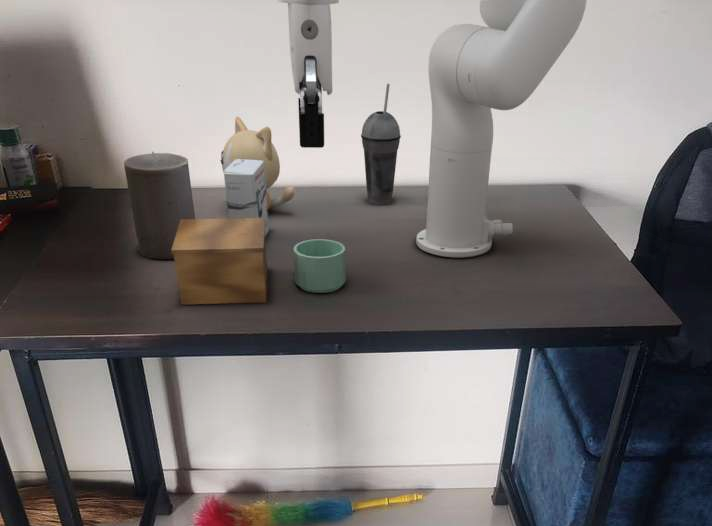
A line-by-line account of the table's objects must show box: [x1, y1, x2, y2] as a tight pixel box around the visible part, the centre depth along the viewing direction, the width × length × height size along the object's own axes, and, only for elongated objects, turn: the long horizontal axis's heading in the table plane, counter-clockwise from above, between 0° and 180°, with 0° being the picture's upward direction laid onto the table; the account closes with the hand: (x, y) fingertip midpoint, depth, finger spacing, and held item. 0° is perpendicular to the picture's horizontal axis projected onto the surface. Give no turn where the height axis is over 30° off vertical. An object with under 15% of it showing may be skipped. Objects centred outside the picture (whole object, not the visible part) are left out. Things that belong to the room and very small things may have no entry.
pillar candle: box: [123, 151, 196, 260], centre depth 121 cm, size 10×10×15 cm
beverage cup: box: [360, 83, 402, 206], centre depth 140 cm, size 7×7×20 cm
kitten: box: [219, 116, 296, 211], centre depth 137 cm, size 15×10×15 cm
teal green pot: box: [293, 238, 347, 294], centre depth 113 cm, size 8×8×6 cm
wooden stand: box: [171, 218, 268, 306], centre depth 111 cm, size 12×12×8 cm
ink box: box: [223, 159, 270, 237], centre depth 126 cm, size 9×5×12 cm, turn 174°
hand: (311, 138), depth 104 cm, fingers open, 9 cm apart
